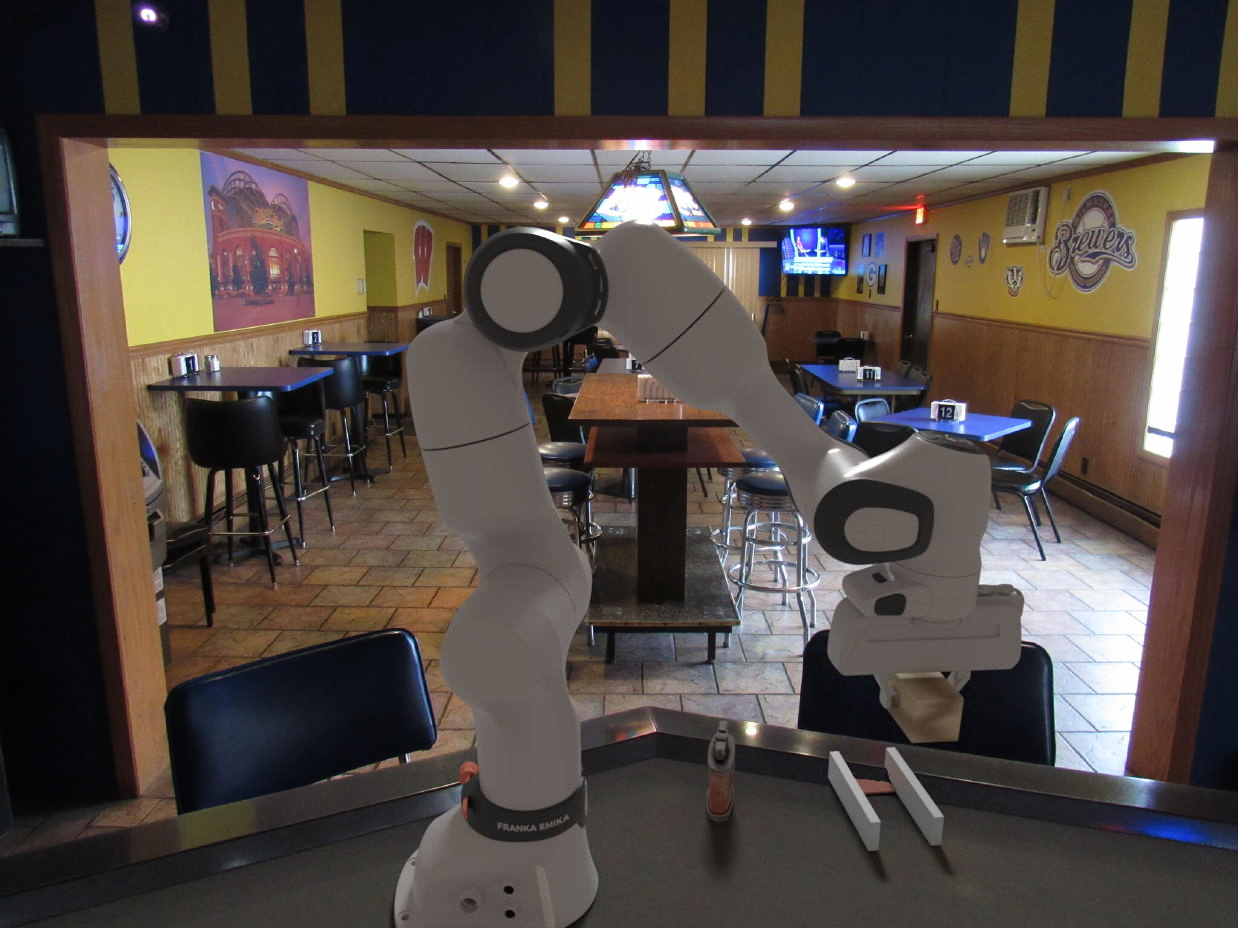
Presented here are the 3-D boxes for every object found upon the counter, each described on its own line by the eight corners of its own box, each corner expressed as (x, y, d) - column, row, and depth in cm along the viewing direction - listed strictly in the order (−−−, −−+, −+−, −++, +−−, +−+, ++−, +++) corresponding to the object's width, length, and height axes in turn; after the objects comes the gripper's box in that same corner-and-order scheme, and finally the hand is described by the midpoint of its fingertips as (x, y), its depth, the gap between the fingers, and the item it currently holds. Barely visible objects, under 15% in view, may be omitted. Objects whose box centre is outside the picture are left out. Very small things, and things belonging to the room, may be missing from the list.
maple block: (911, 742, 87) (917, 700, 86) (884, 705, 94) (889, 665, 92) (957, 740, 88) (963, 698, 86) (927, 704, 94) (932, 664, 93)
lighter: (730, 823, 105) (733, 753, 102) (703, 819, 105) (705, 750, 103) (735, 782, 112) (737, 717, 110) (710, 779, 113) (711, 714, 110)
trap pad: (848, 795, 110) (849, 793, 110) (838, 776, 113) (838, 774, 113) (894, 792, 110) (894, 790, 110) (882, 773, 114) (882, 771, 114)
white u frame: (868, 850, 100) (870, 822, 99) (828, 777, 113) (829, 751, 112) (940, 844, 101) (944, 816, 100) (892, 772, 114) (894, 746, 113)
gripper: (1009, 571, 92) (992, 684, 95) (828, 576, 89) (817, 691, 93) (1043, 596, 86) (1023, 715, 89) (849, 602, 83) (837, 724, 87)
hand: (917, 703), depth 91 cm, fingers closed on maple block, 5 cm apart
